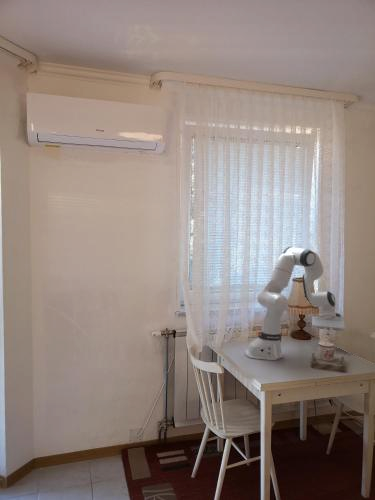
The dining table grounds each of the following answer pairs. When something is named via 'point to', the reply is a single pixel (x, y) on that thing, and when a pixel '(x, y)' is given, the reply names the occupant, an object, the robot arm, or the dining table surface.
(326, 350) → the teacup with lid
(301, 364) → the dining table surface
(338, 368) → the walnut tea frame
